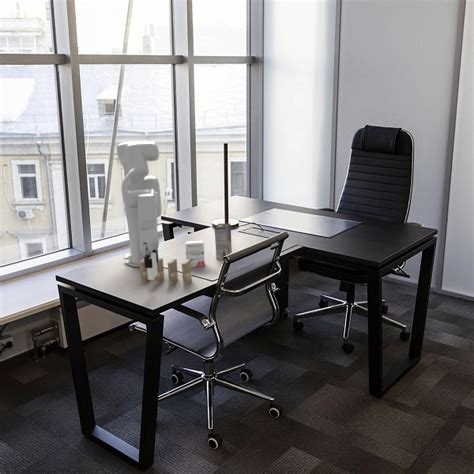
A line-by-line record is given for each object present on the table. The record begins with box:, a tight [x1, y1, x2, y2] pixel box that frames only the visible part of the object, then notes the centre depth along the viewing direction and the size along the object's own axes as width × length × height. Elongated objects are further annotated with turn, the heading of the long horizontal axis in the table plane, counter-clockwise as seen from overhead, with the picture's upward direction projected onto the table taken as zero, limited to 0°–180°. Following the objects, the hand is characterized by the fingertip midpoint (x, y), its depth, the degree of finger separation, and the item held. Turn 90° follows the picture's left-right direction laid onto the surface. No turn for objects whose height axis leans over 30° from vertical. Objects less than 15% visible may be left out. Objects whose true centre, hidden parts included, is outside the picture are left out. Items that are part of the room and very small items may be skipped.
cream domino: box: [147, 252, 158, 281], centre depth 248 cm, size 2×6×10 cm, turn 166°
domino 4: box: [181, 258, 193, 287], centre depth 259 cm, size 2×6×10 cm, turn 166°
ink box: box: [184, 240, 206, 268], centre depth 282 cm, size 8×5×12 cm, turn 96°
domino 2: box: [154, 257, 165, 285], centre depth 263 cm, size 2×6×10 cm, turn 166°
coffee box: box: [214, 223, 233, 260], centre depth 293 cm, size 9×6×16 cm
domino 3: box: [167, 258, 179, 286], centre depth 261 cm, size 2×6×10 cm, turn 166°
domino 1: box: [139, 259, 150, 284], centre depth 264 cm, size 2×6×10 cm, turn 166°
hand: (151, 264), depth 247 cm, fingers closed on cream domino, 5 cm apart
